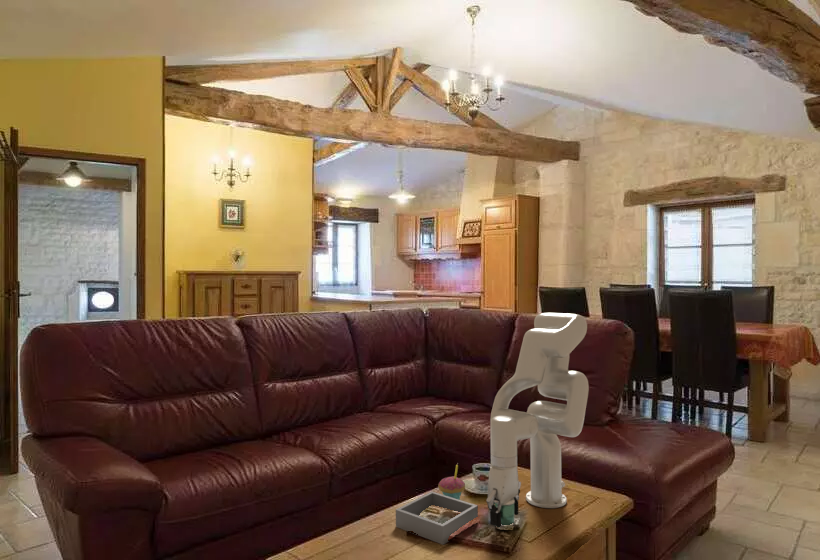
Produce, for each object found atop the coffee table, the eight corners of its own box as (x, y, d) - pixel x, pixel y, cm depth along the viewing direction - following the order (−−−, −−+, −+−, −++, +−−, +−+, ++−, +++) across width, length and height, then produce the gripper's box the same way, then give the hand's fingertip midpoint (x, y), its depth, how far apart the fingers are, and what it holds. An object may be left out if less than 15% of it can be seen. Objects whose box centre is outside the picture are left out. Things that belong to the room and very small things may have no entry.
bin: (431, 507, 176) (431, 491, 175) (477, 522, 165) (477, 505, 165) (395, 526, 163) (395, 509, 162) (443, 544, 152) (442, 526, 152)
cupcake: (465, 494, 185) (464, 458, 185) (465, 505, 176) (464, 467, 176) (439, 494, 186) (438, 458, 186) (437, 504, 177) (437, 467, 177)
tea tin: (501, 520, 166) (500, 493, 166) (518, 526, 162) (518, 498, 162) (490, 527, 161) (490, 499, 161) (508, 533, 158) (508, 505, 158)
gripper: (507, 449, 170) (508, 506, 171) (476, 465, 157) (477, 526, 157) (530, 454, 166) (530, 512, 166) (499, 471, 152) (500, 534, 153)
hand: (504, 519), depth 162 cm, fingers open, 9 cm apart
